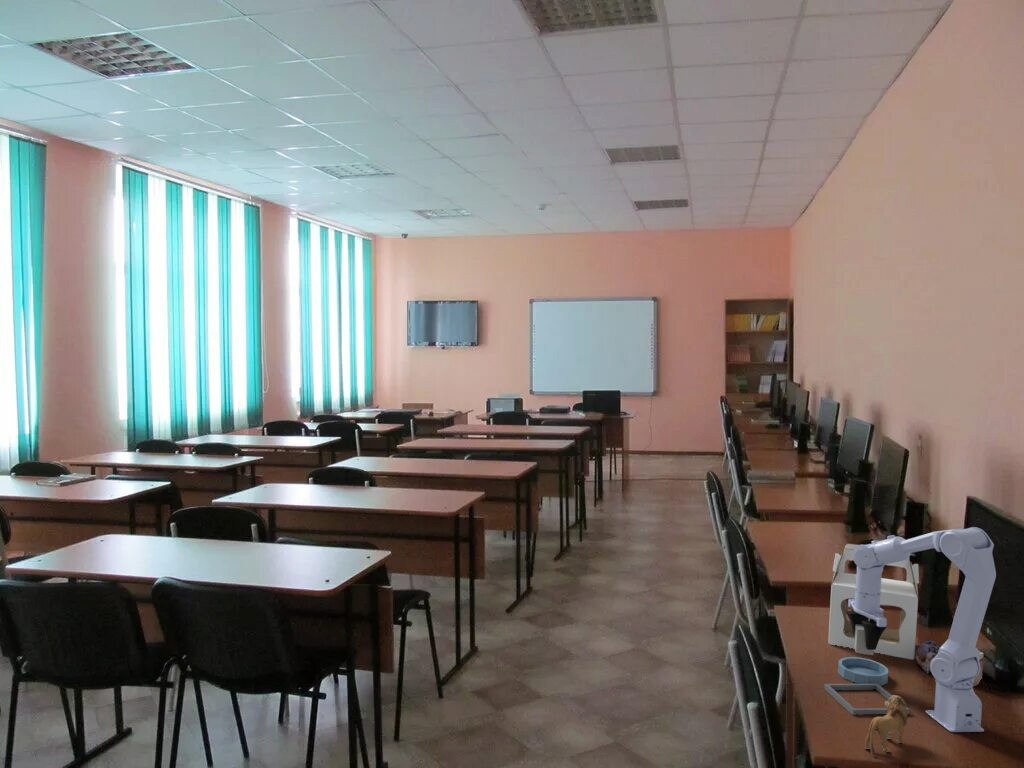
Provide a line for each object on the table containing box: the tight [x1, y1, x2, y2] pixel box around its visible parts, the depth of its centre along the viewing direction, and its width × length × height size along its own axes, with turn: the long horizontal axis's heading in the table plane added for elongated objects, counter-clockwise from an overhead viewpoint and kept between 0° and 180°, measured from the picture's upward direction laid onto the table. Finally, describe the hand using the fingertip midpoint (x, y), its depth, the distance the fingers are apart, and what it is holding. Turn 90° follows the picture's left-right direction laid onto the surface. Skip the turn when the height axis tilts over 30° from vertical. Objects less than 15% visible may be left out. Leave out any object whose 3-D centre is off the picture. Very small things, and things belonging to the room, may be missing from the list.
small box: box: [973, 651, 984, 688], centre depth 201 cm, size 5×4×8 cm
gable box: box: [827, 543, 920, 661], centre depth 224 cm, size 22×13×28 cm, turn 64°
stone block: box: [854, 624, 875, 656], centre depth 199 cm, size 4×4×6 cm
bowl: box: [837, 656, 889, 687], centre depth 203 cm, size 12×12×2 cm
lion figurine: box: [864, 694, 908, 755], centre depth 167 cm, size 15×5×9 cm, turn 136°
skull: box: [914, 640, 941, 674], centre depth 209 cm, size 12×8×6 cm, turn 151°
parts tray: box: [823, 683, 911, 716], centre depth 188 cm, size 14×14×1 cm
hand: (864, 644), depth 199 cm, fingers closed on stone block, 5 cm apart
